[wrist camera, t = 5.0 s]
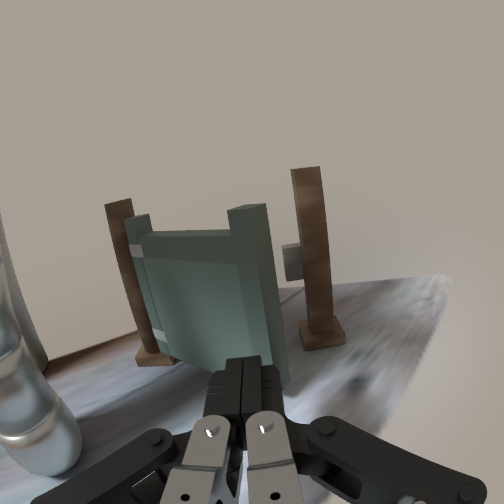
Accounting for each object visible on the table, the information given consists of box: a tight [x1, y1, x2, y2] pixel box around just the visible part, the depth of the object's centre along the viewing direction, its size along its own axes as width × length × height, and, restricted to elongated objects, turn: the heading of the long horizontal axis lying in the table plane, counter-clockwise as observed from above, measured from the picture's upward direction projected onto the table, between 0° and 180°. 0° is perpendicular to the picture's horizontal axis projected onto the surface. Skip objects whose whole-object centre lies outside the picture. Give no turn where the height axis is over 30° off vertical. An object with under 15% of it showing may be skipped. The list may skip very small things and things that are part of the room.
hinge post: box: [105, 198, 175, 366], centre depth 25 cm, size 4×4×15 cm
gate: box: [124, 203, 290, 390], centre depth 21 cm, size 12×2×12 cm, turn 55°
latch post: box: [282, 166, 345, 351], centre depth 25 cm, size 4×4×15 cm
